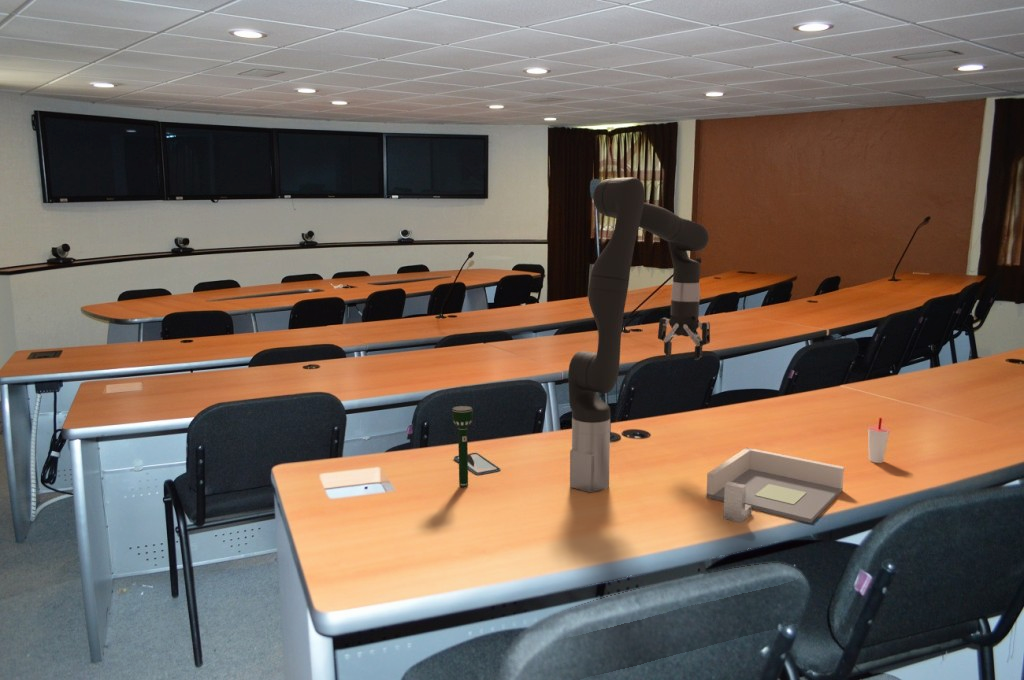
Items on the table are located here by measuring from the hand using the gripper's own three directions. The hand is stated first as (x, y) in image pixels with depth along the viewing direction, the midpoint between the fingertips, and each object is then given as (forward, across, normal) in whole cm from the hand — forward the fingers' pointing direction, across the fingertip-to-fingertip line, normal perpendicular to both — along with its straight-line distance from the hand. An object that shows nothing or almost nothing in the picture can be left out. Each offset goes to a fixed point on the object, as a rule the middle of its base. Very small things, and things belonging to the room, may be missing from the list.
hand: (682, 357), depth 207 cm
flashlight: (+28, -30, -57) cm, 70 cm away
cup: (+26, +46, +24) cm, 58 cm away
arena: (+27, +32, -16) cm, 45 cm away
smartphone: (+28, -38, -42) cm, 64 cm away
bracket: (+27, +30, -34) cm, 53 cm away
